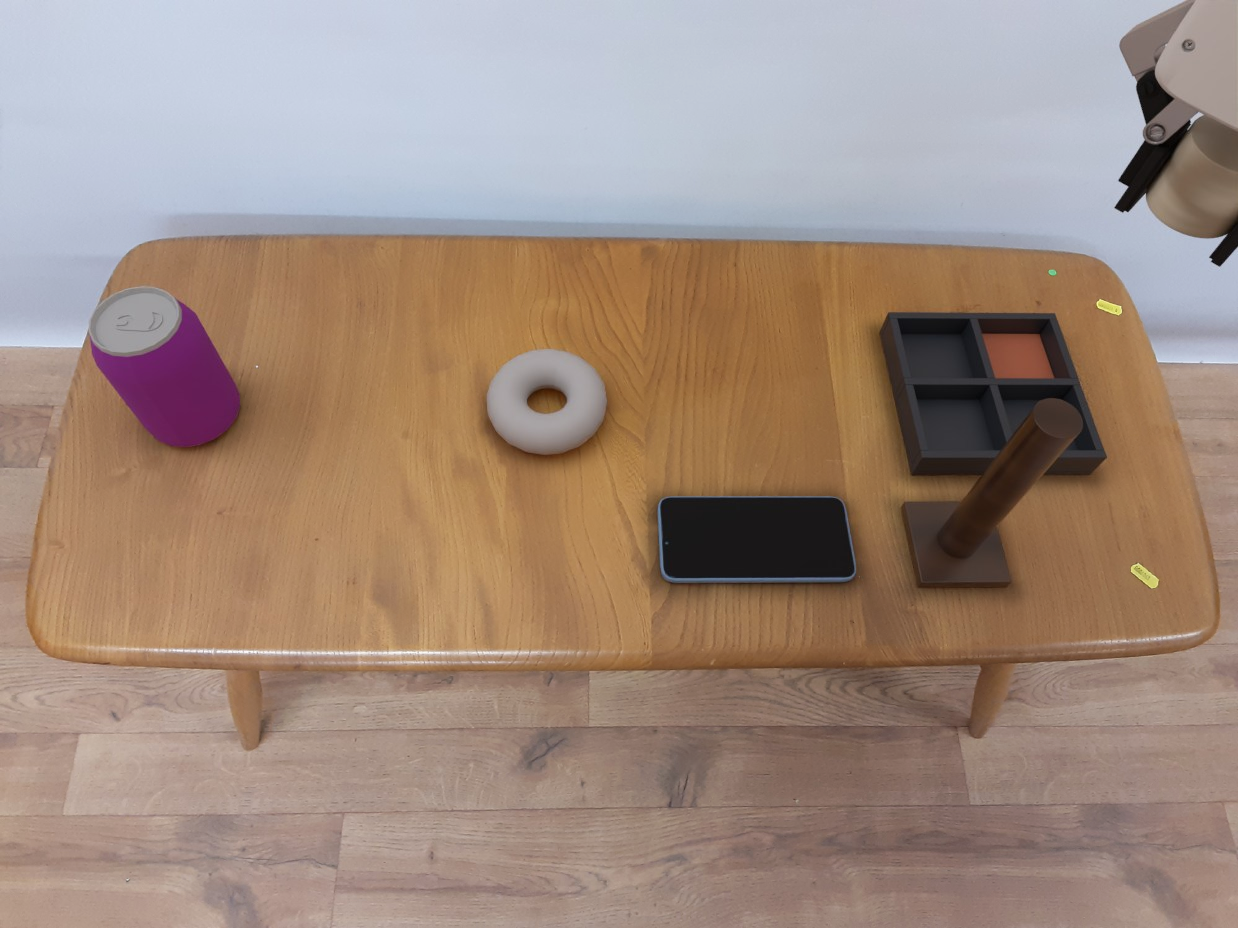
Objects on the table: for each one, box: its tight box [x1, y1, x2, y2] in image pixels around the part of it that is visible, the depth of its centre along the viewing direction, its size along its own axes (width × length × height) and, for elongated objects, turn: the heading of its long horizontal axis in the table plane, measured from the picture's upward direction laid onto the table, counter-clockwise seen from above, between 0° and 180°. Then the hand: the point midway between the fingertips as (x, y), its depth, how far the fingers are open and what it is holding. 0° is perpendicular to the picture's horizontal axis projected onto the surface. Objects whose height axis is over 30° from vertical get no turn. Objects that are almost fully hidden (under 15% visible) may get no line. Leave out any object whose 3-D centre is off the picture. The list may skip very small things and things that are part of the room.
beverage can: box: [87, 285, 241, 448], centre depth 68 cm, size 8×8×12 cm
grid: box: [878, 311, 1108, 476], centre depth 76 cm, size 15×15×3 cm
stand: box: [900, 398, 1083, 589], centre depth 62 cm, size 7×7×18 cm
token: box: [1145, 114, 1238, 240], centre depth 44 cm, size 5×5×4 cm
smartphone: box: [657, 495, 857, 584], centre depth 69 cm, size 7×1×15 cm
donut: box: [485, 348, 608, 456], centre depth 73 cm, size 10×4×10 cm
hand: (1179, 221), depth 47 cm, fingers closed on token, 4 cm apart
